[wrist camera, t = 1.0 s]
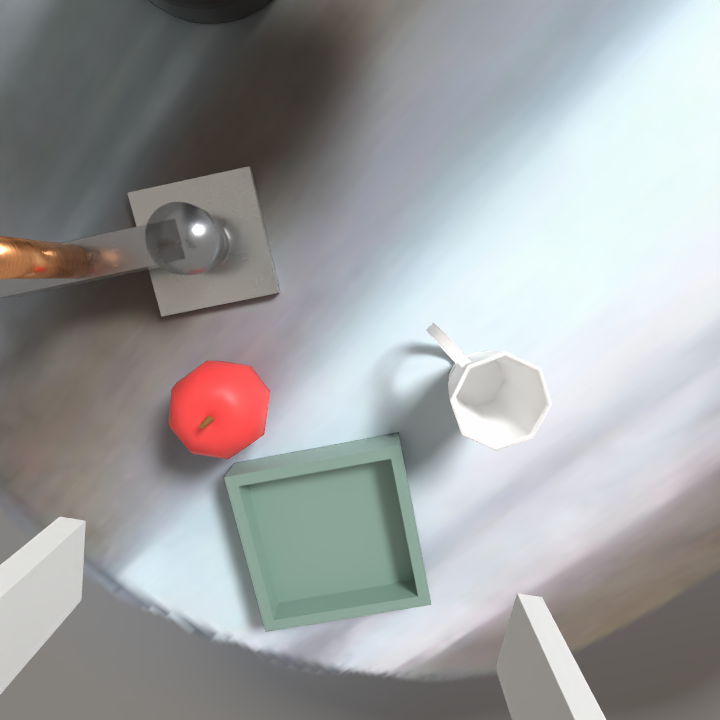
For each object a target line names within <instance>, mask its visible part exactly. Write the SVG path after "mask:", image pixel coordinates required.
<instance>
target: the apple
mask: <svg viewBox="0 0 720 720" xmlns="http://www.w3.org/2000/svg"><path fill="white" fill-rule="evenodd" d="M269 392H270V390H269V389H268V388H267V387H266V385H265V384H264V383H263V381H262V380H261V379H260V377H259V376H258V375H257V374H256V372H255V371H254V370H253V368H252V367H251V366H247V365H241V364H235V363H229V362H223V361H206V362H204V363H203V364H201V365H200V366H199V367H197V368H196V369H195V370H193V371H192V372H191V373H189V374H188V375H186V376H185V377H184V378H182V379H181V380H180V381H178V382H177V383H176V384H175V385H174V387H173V388H172V390H171V400H170V411H169V422H168V425H169V427H170V428H171V429H172V430H173V432H174V433H175V434H176V435H177V436H178V438H179V439H180V440H181V441H182V442H183V444H184V445H185V446H186V447H187V449H188V450H189V451H190V452H191V453H192V454H198V455H204V456H210V457H216V458H223V459H229V458H231V457H232V456H234V455H235V454H237V453H238V452H240V451H241V450H243V449H244V448H245V447H247V446H248V445H250V444H251V443H253V442H254V441H256V440H257V439H258V438H260V437H261V436H263V435H264V432H265V424H266V417H267V409H268V402H269Z"/></svg>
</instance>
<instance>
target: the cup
mask: <svg viewBox="0 0 720 720" xmlns="http://www.w3.org/2000/svg"><path fill="white" fill-rule="evenodd" d="M426 330H427V332H428V333H429V334H430V335H431V336H432V337H433V339H434V340H435V341H436V342H437V343H438V344H439V346H440V347H441V348H442V349H443V350H444V351H445V352H446V353H447V355H448V356H449V357H450V358H451V359H452V360H453V361H454V362H455V363H454V365H453V367H452V369H451V371H450V373H449V375H448V377H449V382H448V390H449V399H450V402H451V405H452V408H453V411H454V414H455V417H456V420H457V423H458V426H459V428H460V431H461V434H462V435H463V436H465V437H467V438H469V439H472V440H474V441H476V442H478V443H480V444H483V445H485V446H487V447H489V448H492V449H494V450H499V449H502V448H505V447H508V446H511V445H514V444H517V443H520V442H523V441H526V440H529V439H532V438H533V437H534V435H535V434H536V432H537V430H538V428H539V427H540V425H541V423H542V421H543V419H544V418H545V416H546V414H547V412H548V410H549V409H550V407H551V405H552V403H551V400H550V396H549V393H548V390H547V386H546V383H545V380H544V377H543V373H542V370H541V368H539V367H537V366H535V365H533V364H531V363H528V362H526V361H524V360H522V359H520V358H518V357H516V356H513V355H511V354H509V353H507V352H496V351H484V352H481V353H477V352H474V353H471V354H468V355H465V354H464V353H463V352H462V351H461V350H460V349H459V348H458V347H457V346H456V344H455V343H454V342H453V341H452V340H451V339H450V338H449V337H448V336H447V335H446V334H445V333H444V332H443V331H442V330H441V329H440V328H439V327H438V326H437V325H435V324H434V323H433V324H432V325H431V326H430V327H429V328H427V329H426Z"/></svg>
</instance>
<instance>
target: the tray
mask: <svg viewBox="0 0 720 720" xmlns="http://www.w3.org/2000/svg"><path fill="white" fill-rule="evenodd" d="M224 480H225V483H226V487H227V491H228V494H229V498H230V502H231V506H232V509H233V513H234V517H235V520H236V524H237V528H238V531H239V535H240V539H241V543H242V546H243V550H244V554H245V557H246V561H247V565H248V569H249V572H250V576H251V580H252V583H253V587H254V591H255V595H256V598H257V602H258V606H259V609H260V613H261V617H262V621H263V624H264V628H265V632H267V631H274V630H280V629H286V628H292V627H298V626H304V625H310V624H316V623H322V622H328V621H335V620H341V619H347V618H353V617H359V616H365V615H371V614H377V613H383V612H389V611H395V610H402V609H408V608H414V607H420V606H426V605H431V600H430V595H429V590H428V584H427V579H426V574H425V569H424V563H423V558H422V553H421V548H420V543H419V537H418V532H417V527H416V522H415V517H414V511H413V506H412V501H411V496H410V491H409V485H408V480H407V475H406V470H405V465H404V459H403V454H402V449H401V444H400V439H399V434H398V433H395V434H389V435H384V436H378V437H373V438H367V439H362V440H357V441H351V442H346V443H340V444H335V445H329V446H324V447H318V448H313V449H308V450H302V451H297V452H291V453H286V454H280V455H275V456H269V457H264V458H259V459H253V460H248V461H242V462H237V463H234V464H233V466H232V467H231V468H230V470H229V471H228V473H227V474H226V475H225V477H224Z"/></svg>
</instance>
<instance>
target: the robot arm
mask: <svg viewBox="0 0 720 720" xmlns="http://www.w3.org/2000/svg"><path fill="white" fill-rule="evenodd" d="M150 1H151V2H152V3H153V4H155V5H156V6H158V7H159V8H161V9H162V10H164V11H166V12H168V13H170V14H172V15H174V16H176V17H179V18H182V19H185V20H189V21H193V22H199V23H224V22H229V21H234V20H237V19H240V18H243V17H246V16H248V15H250V14H252V13H254V12H255V11H257V10H259V9H260V8H262V7H263V6H265V5H266V4H267V3H268V2H270V1H271V0H150ZM85 522H86V521H83V520H77V519H71V518H65V517H59V518H58V519H56V520H55V521H54V522H53V523H51V524H50V525H49V526H48V527H47V528H45V529H44V530H43V531H42V532H40V533H39V534H38V535H37V536H36V537H34V538H33V539H32V540H31V541H29V542H28V543H27V544H26V545H24V546H23V547H22V548H21V549H20V550H19V551H17V552H16V553H15V554H13V555H12V556H11V557H10V558H9V559H7V560H6V561H5V562H4V563H2V564H1V565H0V694H1V693H2V692H3V691H4V690H5V688H6V687H7V686H8V685H9V684H10V683H11V681H12V680H13V679H14V678H15V677H16V676H17V674H18V673H19V672H20V671H21V670H22V669H23V667H24V666H25V665H26V664H27V663H28V662H29V660H30V659H31V658H32V657H33V656H34V655H35V653H36V652H37V651H38V650H39V648H41V646H42V645H43V644H44V643H45V642H46V641H47V639H48V638H49V637H50V636H51V635H52V634H53V632H54V631H55V630H56V629H57V628H58V627H59V625H60V624H61V623H62V622H63V621H64V620H65V618H66V617H67V616H68V615H69V614H70V613H71V611H72V610H73V609H74V608H75V607H76V605H77V604H78V603H79V602H80V601H81V595H82V578H83V559H84V541H85ZM496 670H497V674H498V677H499V680H500V683H501V686H502V689H503V693H504V695H505V699H506V702H507V705H508V708H509V711H510V715H511V718H512V720H606V719H605V717H604V715H603V713H602V711H601V709H600V707H599V705H598V703H597V702H596V700H595V698H594V696H593V694H592V692H591V690H590V688H589V686H588V684H587V683H586V681H585V679H584V677H583V675H582V673H581V671H580V669H579V667H578V665H577V663H576V661H575V660H574V658H573V656H572V654H571V652H570V650H569V648H568V646H567V644H566V642H565V640H564V639H563V637H562V635H561V633H560V631H559V629H558V627H557V625H556V623H555V621H554V620H553V618H552V616H551V614H550V612H549V610H548V608H547V606H546V604H545V602H544V600H543V599H542V597H537V596H531V595H525V594H519V593H517V596H516V599H515V603H514V606H513V610H512V613H511V617H510V620H509V624H508V627H507V631H506V634H505V638H504V641H503V644H502V648H501V651H500V655H499V658H498V662H497V665H496Z"/></svg>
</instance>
